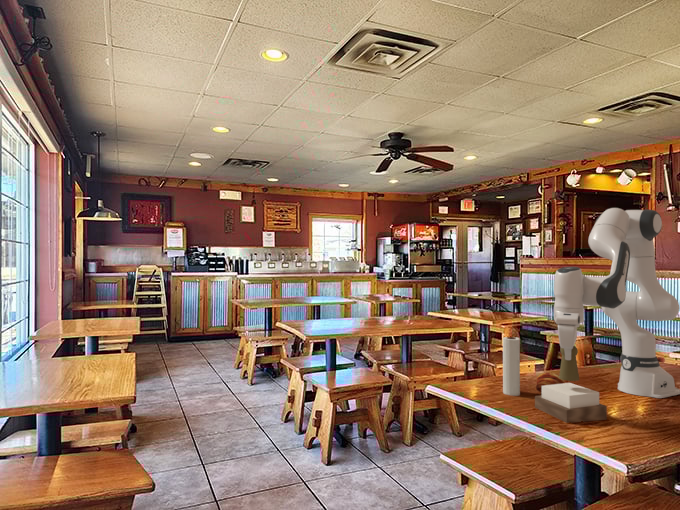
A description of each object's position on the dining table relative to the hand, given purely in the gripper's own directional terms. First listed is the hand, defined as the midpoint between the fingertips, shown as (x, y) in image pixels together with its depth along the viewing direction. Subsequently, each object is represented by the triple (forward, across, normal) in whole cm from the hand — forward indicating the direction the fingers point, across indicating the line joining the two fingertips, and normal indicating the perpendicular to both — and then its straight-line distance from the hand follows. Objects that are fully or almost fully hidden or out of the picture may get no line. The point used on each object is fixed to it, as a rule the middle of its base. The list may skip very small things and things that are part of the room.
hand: (569, 357), depth 152 cm
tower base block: (+19, 0, 0) cm, 19 cm away
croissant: (+19, -25, -6) cm, 32 cm away
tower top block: (+14, 0, 0) cm, 14 cm away
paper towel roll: (+19, -14, -20) cm, 31 cm away
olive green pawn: (+7, 0, 0) cm, 7 cm away
